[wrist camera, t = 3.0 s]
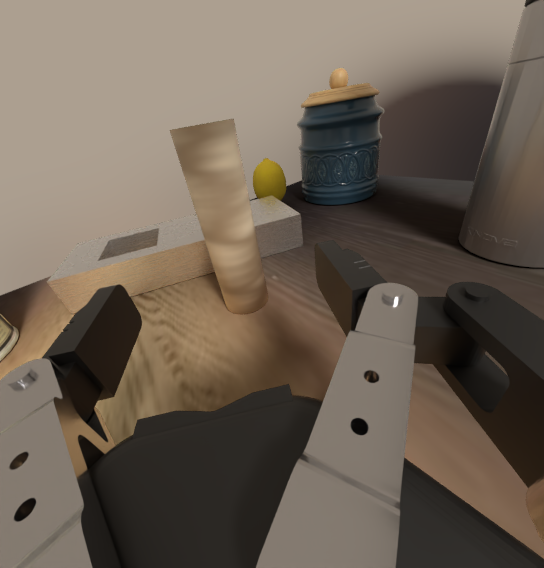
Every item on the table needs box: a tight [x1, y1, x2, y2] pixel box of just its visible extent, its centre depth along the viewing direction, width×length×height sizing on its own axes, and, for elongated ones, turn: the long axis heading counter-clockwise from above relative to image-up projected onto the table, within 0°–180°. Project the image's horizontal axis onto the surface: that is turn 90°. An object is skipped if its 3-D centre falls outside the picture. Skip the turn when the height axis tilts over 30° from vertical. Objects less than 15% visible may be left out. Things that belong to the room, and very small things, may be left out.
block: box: [47, 196, 303, 314], centre depth 31 cm, size 26×10×4 cm, turn 109°
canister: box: [297, 68, 384, 205], centre depth 41 cm, size 13×13×18 cm
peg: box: [170, 119, 268, 314], centre depth 20 cm, size 4×4×14 cm
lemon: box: [253, 158, 286, 201], centre depth 43 cm, size 6×6×8 cm
